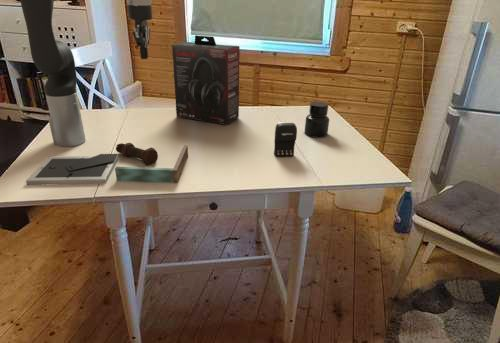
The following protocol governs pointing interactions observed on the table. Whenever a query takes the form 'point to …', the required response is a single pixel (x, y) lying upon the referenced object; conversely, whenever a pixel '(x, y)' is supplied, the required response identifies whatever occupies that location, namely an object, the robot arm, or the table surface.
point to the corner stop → (154, 171)
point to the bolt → (138, 153)
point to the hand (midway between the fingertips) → (144, 58)
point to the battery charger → (285, 139)
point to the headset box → (206, 80)
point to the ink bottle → (317, 120)
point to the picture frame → (74, 170)
